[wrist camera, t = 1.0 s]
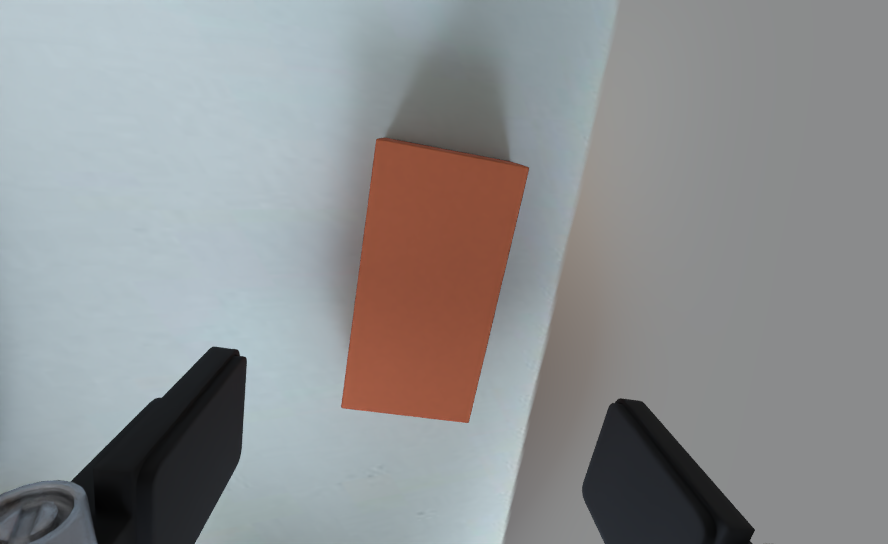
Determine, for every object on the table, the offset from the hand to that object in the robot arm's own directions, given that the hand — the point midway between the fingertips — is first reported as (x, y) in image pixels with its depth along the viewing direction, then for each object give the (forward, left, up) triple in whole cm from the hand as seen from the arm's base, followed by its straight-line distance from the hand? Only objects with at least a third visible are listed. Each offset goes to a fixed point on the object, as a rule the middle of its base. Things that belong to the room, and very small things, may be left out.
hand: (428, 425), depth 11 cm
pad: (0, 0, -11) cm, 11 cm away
